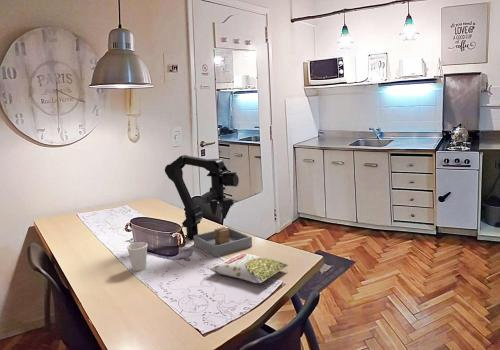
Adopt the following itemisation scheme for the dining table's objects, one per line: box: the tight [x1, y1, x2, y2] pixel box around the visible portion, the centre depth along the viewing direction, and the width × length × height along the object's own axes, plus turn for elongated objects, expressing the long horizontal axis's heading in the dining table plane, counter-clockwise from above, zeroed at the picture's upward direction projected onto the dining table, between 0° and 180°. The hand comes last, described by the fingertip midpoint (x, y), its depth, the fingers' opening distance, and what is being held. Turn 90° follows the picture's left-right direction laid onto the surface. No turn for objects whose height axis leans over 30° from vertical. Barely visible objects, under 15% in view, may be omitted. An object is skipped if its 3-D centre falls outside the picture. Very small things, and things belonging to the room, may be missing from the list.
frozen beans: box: [208, 252, 289, 284], centre depth 165 cm, size 21×6×25 cm
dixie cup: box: [126, 241, 148, 272], centre depth 174 cm, size 8×8×10 cm
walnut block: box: [213, 226, 230, 245], centre depth 197 cm, size 5×5×7 cm
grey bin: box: [193, 226, 253, 257], centre depth 197 cm, size 20×20×4 cm
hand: (219, 216), depth 203 cm, fingers open, 9 cm apart
